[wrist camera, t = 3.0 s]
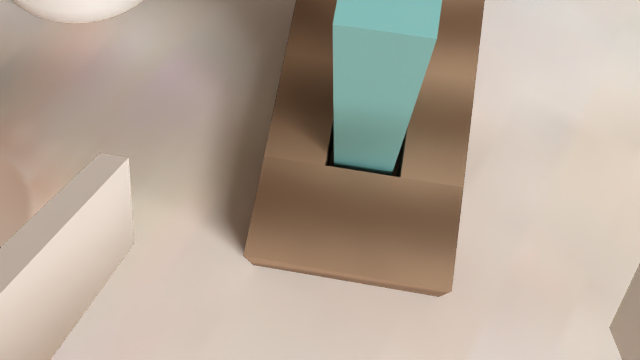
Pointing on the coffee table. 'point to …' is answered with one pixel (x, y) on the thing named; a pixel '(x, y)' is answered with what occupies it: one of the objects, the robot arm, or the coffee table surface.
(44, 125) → the coffee table surface
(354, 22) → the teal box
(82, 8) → the flower in vase
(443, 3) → the walnut box
